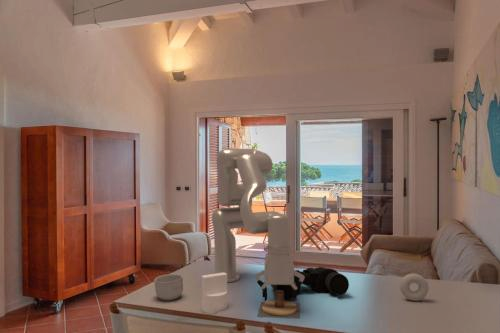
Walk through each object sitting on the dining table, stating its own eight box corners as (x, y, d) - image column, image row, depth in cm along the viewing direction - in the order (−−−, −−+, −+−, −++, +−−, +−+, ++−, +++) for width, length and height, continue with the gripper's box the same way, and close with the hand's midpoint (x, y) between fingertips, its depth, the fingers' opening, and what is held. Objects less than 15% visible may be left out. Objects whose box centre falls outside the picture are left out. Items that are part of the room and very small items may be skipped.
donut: (427, 299, 145) (427, 272, 145) (429, 303, 142) (429, 275, 142) (399, 298, 148) (398, 271, 147) (400, 301, 144) (400, 274, 144)
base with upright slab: (207, 315, 133) (207, 280, 133) (198, 306, 141) (198, 273, 141) (231, 310, 137) (231, 276, 137) (221, 302, 145) (221, 270, 145)
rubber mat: (261, 304, 143) (261, 301, 143) (299, 305, 141) (299, 303, 141) (257, 319, 129) (257, 316, 129) (299, 320, 127) (299, 318, 127)
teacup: (176, 303, 144) (176, 282, 144) (149, 301, 147) (149, 280, 147) (190, 291, 158) (189, 271, 158) (164, 290, 160) (164, 270, 160)
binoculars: (276, 304, 142) (276, 276, 143) (263, 290, 162) (262, 266, 163) (349, 297, 148) (348, 270, 149) (328, 285, 168) (327, 261, 169)
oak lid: (263, 302, 142) (263, 285, 142) (296, 303, 140) (296, 286, 140) (260, 315, 130) (260, 297, 130) (297, 317, 128) (296, 298, 128)
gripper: (252, 252, 132) (253, 302, 132) (304, 252, 130) (305, 304, 130) (255, 247, 140) (255, 295, 140) (304, 248, 138) (304, 296, 138)
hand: (279, 299), depth 135 cm, fingers open, 9 cm apart
